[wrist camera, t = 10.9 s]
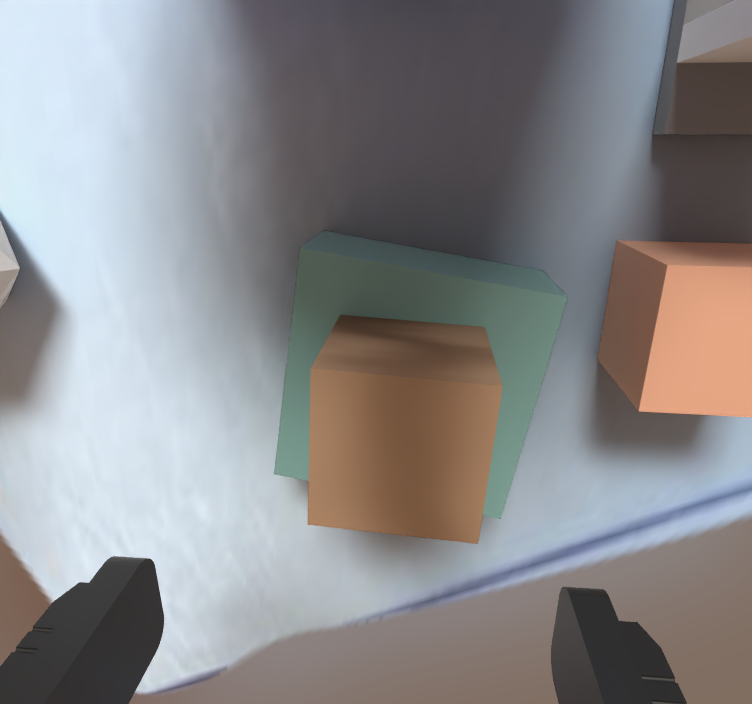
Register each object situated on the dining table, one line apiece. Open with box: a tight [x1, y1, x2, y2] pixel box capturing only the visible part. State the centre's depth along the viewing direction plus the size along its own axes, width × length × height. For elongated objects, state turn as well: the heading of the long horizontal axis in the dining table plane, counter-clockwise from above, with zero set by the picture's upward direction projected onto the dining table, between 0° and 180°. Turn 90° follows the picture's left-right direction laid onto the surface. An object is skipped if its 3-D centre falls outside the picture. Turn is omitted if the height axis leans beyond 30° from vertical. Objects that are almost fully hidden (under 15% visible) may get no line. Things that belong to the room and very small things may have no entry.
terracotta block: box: [598, 240, 752, 417], centre depth 22 cm, size 6×6×6 cm
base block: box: [274, 231, 568, 519], centre depth 24 cm, size 10×10×5 cm
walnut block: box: [308, 315, 503, 544], centre depth 19 cm, size 6×6×6 cm
